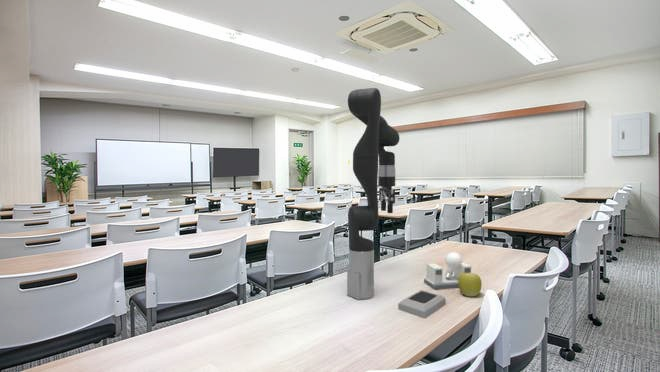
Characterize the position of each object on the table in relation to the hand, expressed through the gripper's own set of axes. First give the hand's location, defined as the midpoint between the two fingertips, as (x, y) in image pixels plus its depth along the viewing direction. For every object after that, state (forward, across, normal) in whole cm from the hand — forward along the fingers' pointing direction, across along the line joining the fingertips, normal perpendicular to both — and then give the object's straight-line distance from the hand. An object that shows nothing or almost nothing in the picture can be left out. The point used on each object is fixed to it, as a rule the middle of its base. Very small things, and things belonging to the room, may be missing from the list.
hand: (386, 211), depth 143 cm
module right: (+26, -18, -26) cm, 41 cm away
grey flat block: (+28, -36, 0) cm, 46 cm away
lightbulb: (+26, -18, -19) cm, 37 cm away
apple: (+28, -29, -22) cm, 46 cm away
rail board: (+28, -18, -20) cm, 39 cm away
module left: (+26, -19, -13) cm, 35 cm away
